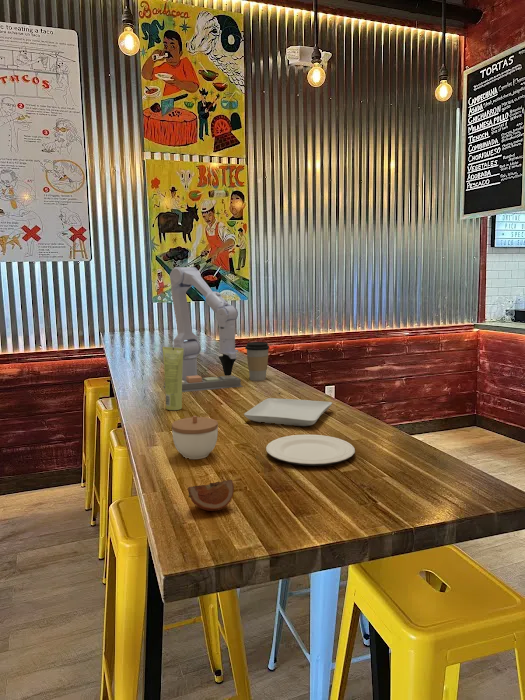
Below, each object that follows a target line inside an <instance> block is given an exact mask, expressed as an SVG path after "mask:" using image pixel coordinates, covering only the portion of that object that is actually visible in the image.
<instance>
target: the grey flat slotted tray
mask: <svg viewBox="0 0 525 700" xmlns="http://www.w3.org/2000/svg"><path fill="white" fill-rule="evenodd" d="M233 376H234V377H235V378H236V379H232V380H222V379H220V376H216V377H217V378H218V379H219V381H209V382H206V381H204V380H203V378H204V377H202V382H197V383H188V382H187V381H186V380H184V379H182V380H183V381H184V382H185V384H182V393H186V392H187V393H188V392H198V391H199V392H200V391H208V390H219V389H229V388H231V389H232V388H233V389H234V388H241V387H242V388H243V387H244V386H243V385H242V383H241V382H242V380H241V378H240V377H237V376H236V375H233ZM163 384H164V385H162V387H163V389H165V381H164V382H163Z"/></svg>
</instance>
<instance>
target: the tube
mask: <svg viewBox="0 0 525 700" xmlns="http://www.w3.org/2000/svg"><path fill="white" fill-rule="evenodd" d="M183 352H184V348H174V346H173V347H171V346H162V358H163V371H164V373H163V374H164V382H165V388H164V390H165V393H164V394H165V409H166V410H169V411H179V410H181V409H182V408H183V392H182V380H183V379H182V368H183Z"/></svg>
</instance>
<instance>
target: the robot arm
mask: <svg viewBox="0 0 525 700" xmlns="http://www.w3.org/2000/svg"><path fill="white" fill-rule="evenodd" d="M169 279H170V280H169V281H170V286H171V287H170V292H171V297H172V304H173V310H174V317H175V323H176V328H177V335H176V336H175V337H174V338H173V348H184V352H183V368H182V380H186V376H195V375H198V361H197V360H198V359H197V358H198V357H199V355H200V352H201V350H202V347H201V344H200V342H199V340H198V339H199V338H198V336H197V334H195V333H194V332H193V329H192V323H191V317H190V311H189V304H188V300H187V299H188V298H187V292H188V290H189V289H190V288H192V287H194V288H196V290H197V291H198V292H199V293H200V294H201V295H202V296H203V297H204V298H205V303H206V304H207V305H208V307H210V309H211V310H212V311H213V312H214V313H215V319H216V321H217V325H218V327H219V329H218V330H219V335H218V336H219V342H218V343H219V348H218V354H222V355H221V356H220V355H219V356H218V359H219V361H220V363H221V366H222V370H223V374H224V375H223V376H231V375H232V373H233V368H234V364H235V362H236V360H237V353H238V352H239V350H238V349H236V325H235V324H236V320H238V318H239V311H238V309H237V307H236V306H235V305H232V304H230V303H229V302H228V301H226V299H224V297H222V294H221V292H218V291H213V290H212V289H211V288H210V286H209V285H208V283H207V282H206V281H205V279H203V277H202V275H201V272H200V271H199V270H198V268H197V267H195V266H190V267H188V266H181V267H179V266H175V267H173V269H172V270H171V271H170V273H169Z"/></svg>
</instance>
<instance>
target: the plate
mask: <svg viewBox="0 0 525 700" xmlns="http://www.w3.org/2000/svg"><path fill="white" fill-rule="evenodd" d="M265 451H266V453H267V454H268V455H269V456H270V457H272V458H274V459H275V460H278V461H282V462H285V463H288V464H292V465H297V466H303V467H305V466H306V467H320V466H321V467H322V466H327V465H329V466H330V465H333V464H339V463H341V462H345V461H347V460H348V459H351V458H352V457H353V456H354V454H355V453H356V450H355V447H354V445H352V444H351V443H350V442H348V441H346V440H344V439H341V438H338V437H334V436H329V435H323V434H322V435H321V434H294V435H293V434H292V435H286V436H281V437H278V438H276V439H273V440H272V441H270V442H269V443H268V444H267V445H266V447H265Z"/></svg>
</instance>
